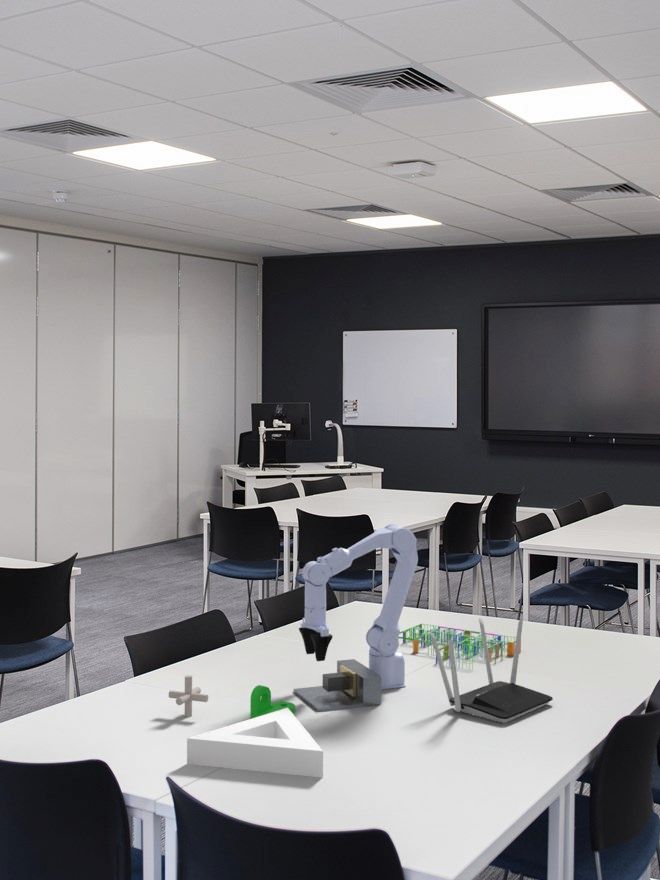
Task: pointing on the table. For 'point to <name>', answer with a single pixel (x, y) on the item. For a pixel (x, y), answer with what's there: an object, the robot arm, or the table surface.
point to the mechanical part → (266, 702)
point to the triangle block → (259, 746)
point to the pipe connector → (188, 696)
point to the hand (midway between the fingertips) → (315, 657)
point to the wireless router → (492, 688)
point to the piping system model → (465, 639)
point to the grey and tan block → (341, 681)
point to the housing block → (335, 700)
